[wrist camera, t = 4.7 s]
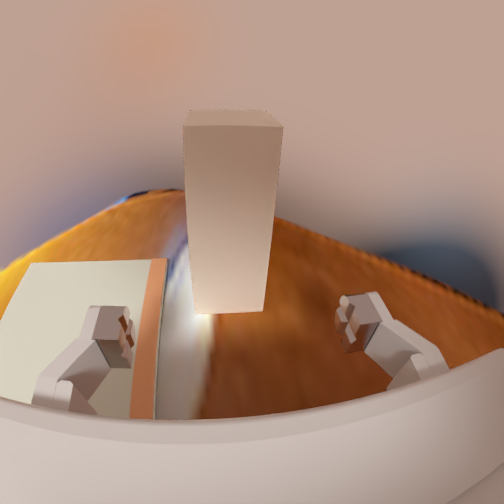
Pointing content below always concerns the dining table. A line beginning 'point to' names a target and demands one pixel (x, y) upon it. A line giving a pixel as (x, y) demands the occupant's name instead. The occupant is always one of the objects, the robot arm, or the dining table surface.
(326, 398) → the dining table surface
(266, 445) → the robot arm
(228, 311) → the cream post
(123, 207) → the dining table surface
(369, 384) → the dining table surface
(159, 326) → the mat
